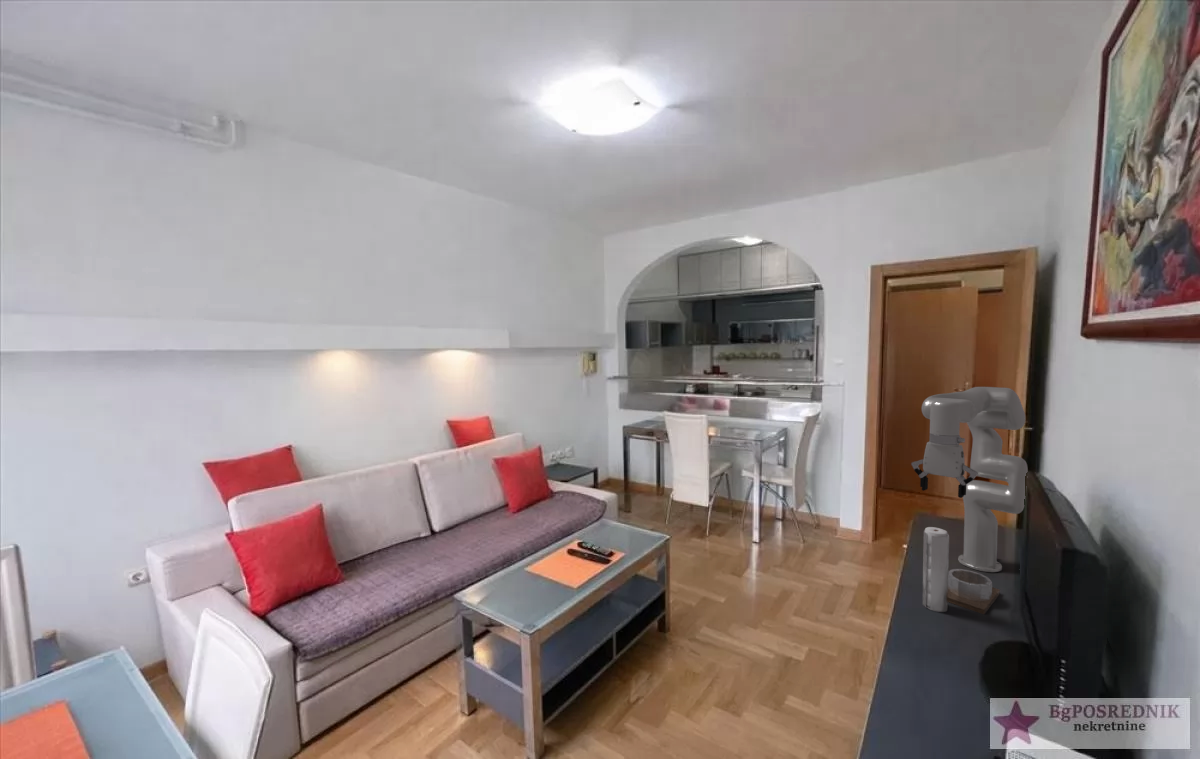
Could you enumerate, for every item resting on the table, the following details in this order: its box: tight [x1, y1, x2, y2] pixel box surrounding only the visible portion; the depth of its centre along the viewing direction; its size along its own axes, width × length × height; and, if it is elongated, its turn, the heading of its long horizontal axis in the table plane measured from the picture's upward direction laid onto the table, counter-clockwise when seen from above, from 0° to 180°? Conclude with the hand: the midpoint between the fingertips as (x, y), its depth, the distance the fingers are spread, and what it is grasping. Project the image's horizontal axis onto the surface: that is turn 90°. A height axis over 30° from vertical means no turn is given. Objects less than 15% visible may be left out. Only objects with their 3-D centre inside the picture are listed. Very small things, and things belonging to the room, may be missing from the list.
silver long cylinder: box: [922, 526, 950, 613], centre depth 146 cm, size 6×6×25 cm
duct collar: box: [948, 568, 1001, 615], centre depth 152 cm, size 18×12×6 cm, turn 128°
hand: (942, 493), depth 147 cm, fingers open, 9 cm apart
